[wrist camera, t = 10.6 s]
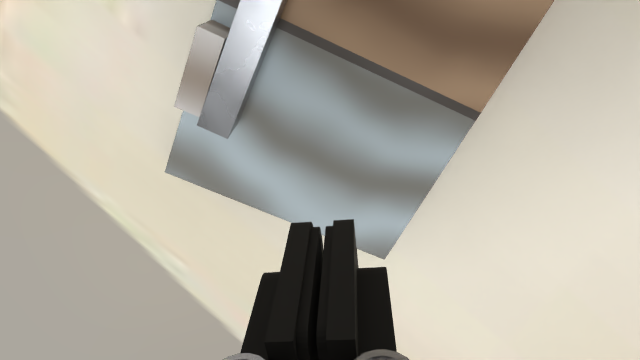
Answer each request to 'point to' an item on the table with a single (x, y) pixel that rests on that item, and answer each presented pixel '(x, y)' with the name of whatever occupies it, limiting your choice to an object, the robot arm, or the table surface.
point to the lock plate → (350, 106)
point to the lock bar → (240, 64)
